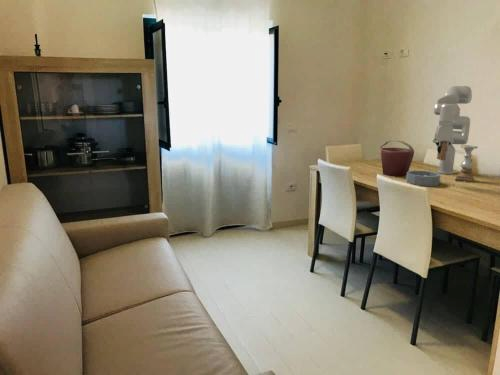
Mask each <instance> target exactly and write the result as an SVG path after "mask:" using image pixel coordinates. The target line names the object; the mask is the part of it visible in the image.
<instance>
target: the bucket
mask: <svg viewBox="0 0 500 375" xmlns="http://www.w3.org/2000/svg"><path fill="white" fill-rule="evenodd" d="M390 142H397V143H401V144H403V145H405V146H406V147H408V148H405V147H383V146H386V145H387V144H389V143H390ZM380 149H381V150H380V157H381V167H382V175H383V176H388V177H394V178H395V177H396V178H397V177H398V178H402V177H403V178H404V177H406V174H407V172H408V171H410V169H411V165H412V162H413V158H414V156H415V150H414V148H413V147H412V145H410V144H409V143H408V142H405V141H403V140H386V141H385V142H384V143H382V144H381V145H380Z"/></svg>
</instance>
